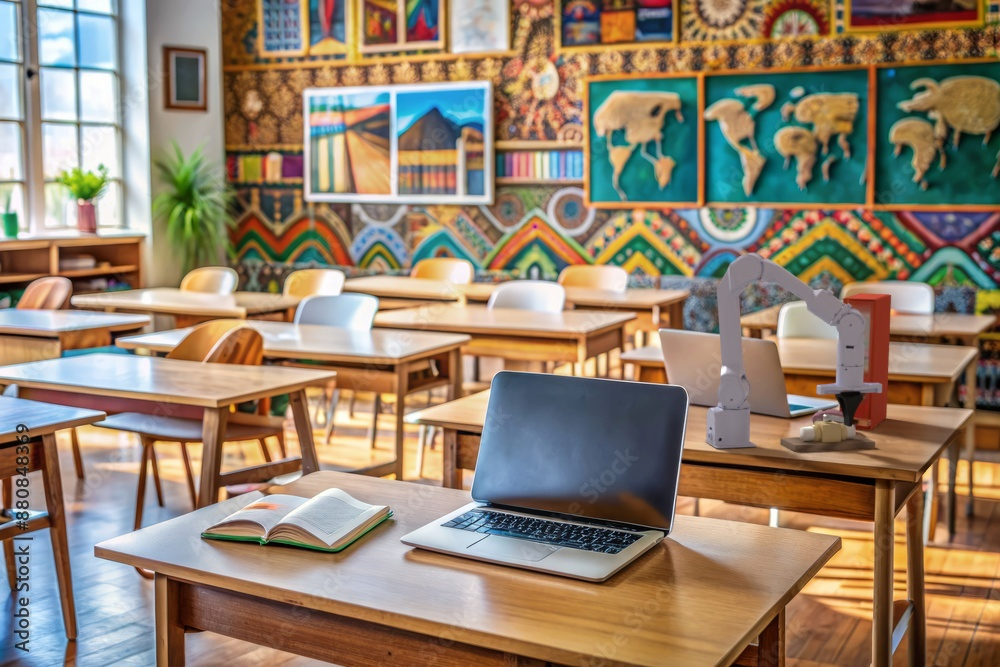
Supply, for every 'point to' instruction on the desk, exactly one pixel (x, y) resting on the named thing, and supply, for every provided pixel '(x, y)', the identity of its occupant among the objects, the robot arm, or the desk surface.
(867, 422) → the valve lever
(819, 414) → the video game controller
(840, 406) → the robot arm
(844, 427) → the pipe valve
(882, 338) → the file binder
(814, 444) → the board
